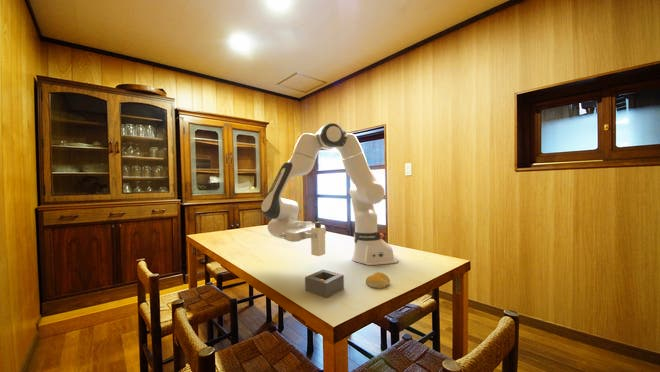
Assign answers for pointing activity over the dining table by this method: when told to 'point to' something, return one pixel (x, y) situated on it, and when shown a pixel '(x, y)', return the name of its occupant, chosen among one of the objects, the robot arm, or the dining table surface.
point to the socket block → (324, 283)
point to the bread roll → (378, 280)
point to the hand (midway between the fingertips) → (319, 234)
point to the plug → (318, 240)
